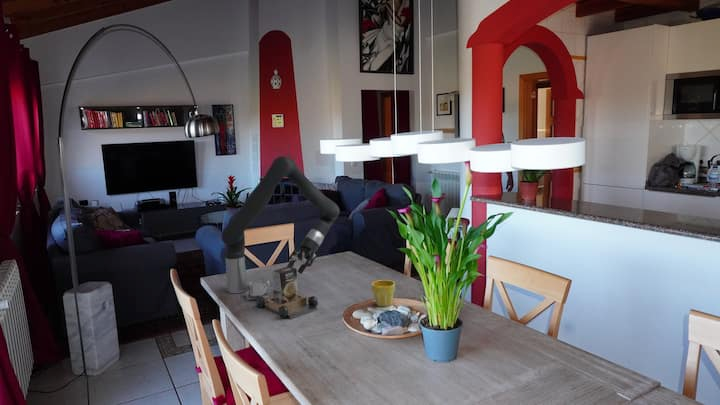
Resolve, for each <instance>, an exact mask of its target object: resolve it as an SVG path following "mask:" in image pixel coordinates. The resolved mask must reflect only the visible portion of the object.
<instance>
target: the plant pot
mask: <svg viewBox="0 0 720 405" xmlns="http://www.w3.org/2000/svg"><path fill="white" fill-rule="evenodd" d="M395 291H396V283H395V282H394V281H393V280H390V279H380V280H375V281H373V282H372V283H371V292H372V293H373V295H374V298H375V299H374V300H375V303H376V306H377V307H379V306H380V307H381V306H388V307H390V306H392V304H393V298H394V293H395ZM381 308H382V307H381Z"/></svg>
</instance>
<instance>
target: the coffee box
mask: <svg viewBox="0 0 720 405" xmlns="http://www.w3.org/2000/svg"><path fill="white" fill-rule="evenodd" d="M272 283H273V284H272V287H273V288H272V289H273V297H274V302H276V303H279V304H283V303H286V302H289V301H293V300H296V299H298V294H299V290H298V288H299V286H298V269H297V268H296V267H287V266H285V267H281V268H278V269H275V270H272Z"/></svg>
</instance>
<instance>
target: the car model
mask: <svg viewBox="0 0 720 405" xmlns="http://www.w3.org/2000/svg"><path fill="white" fill-rule="evenodd" d="M270 284H271V283H270V279H266V282H265V283H264V282H256V283H253V281H252V280H250V281H248V288H249V289H247V290H246V291H245V299H247V301H256V298H257V297H259V296H262V297H263V298H264V300H266V299H269V298H270V297H271V293H270V292H271V290H270Z"/></svg>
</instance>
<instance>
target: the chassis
mask: <svg viewBox="0 0 720 405" xmlns="http://www.w3.org/2000/svg"><path fill="white" fill-rule="evenodd" d="M255 303H256V306H257V308H258V309H261V308H264V309H266V310H269V311H271V312H273V313H275V314H278V315H279V316H280V317H281V319H285V318H287V319H289V320H293V319H296V318H299V317H303V316H304V315H307V314H311V313H314V312H316V311H318V305H319V302H318V298H317V297H316V296H315V295H312V296H310V297H308V298H307V296H304V295H302V294H300V293H298V299H296V300H293V301H289V302H286V303H283V304H279V303H276V302H274V296H272V297H268V298H267V299H264V298H263V297H262V296H259V297H257V298H256V299H255Z"/></svg>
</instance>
